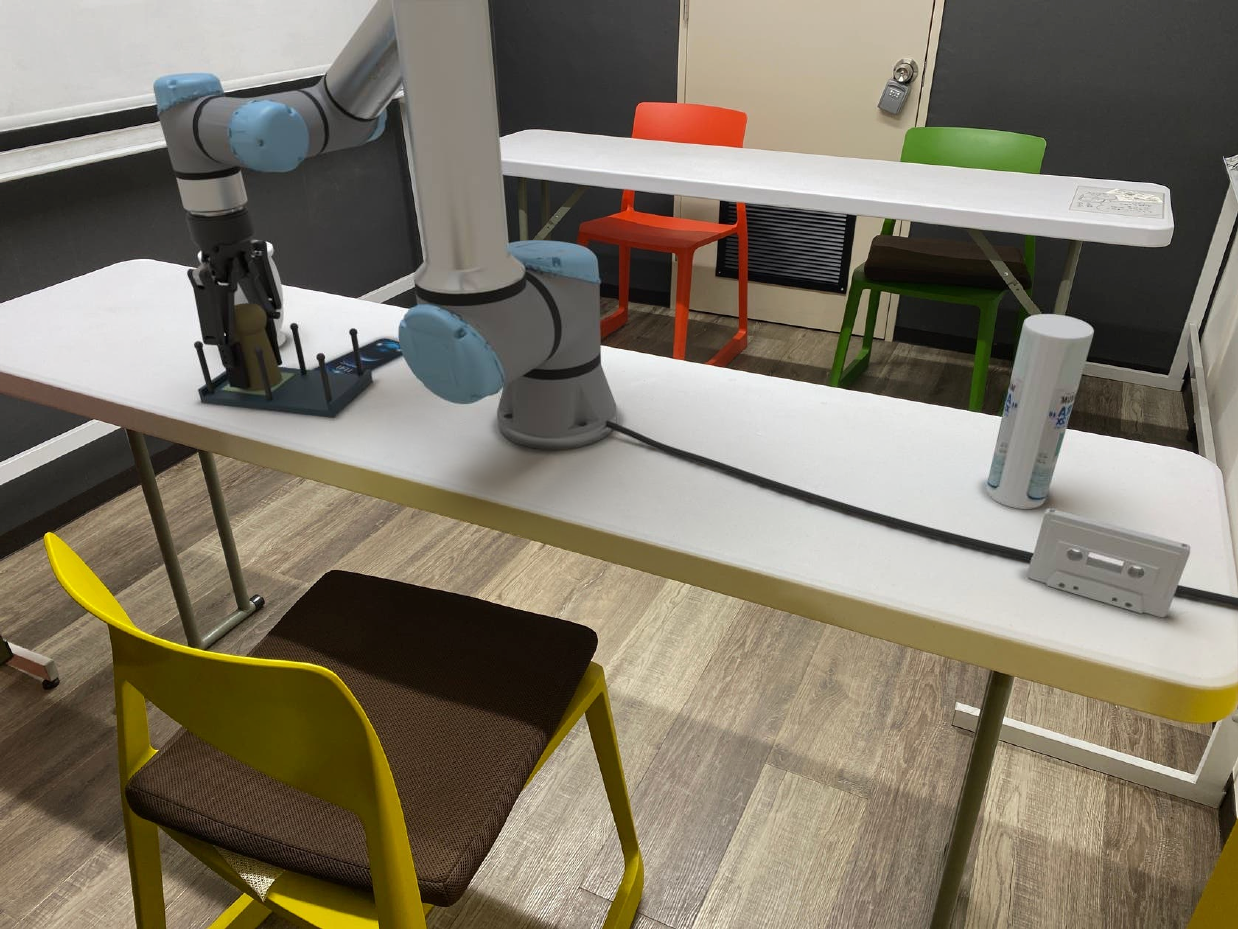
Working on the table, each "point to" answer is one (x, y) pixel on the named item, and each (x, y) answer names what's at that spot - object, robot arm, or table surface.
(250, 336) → the cork
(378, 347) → the smartphone
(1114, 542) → the cassette
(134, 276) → the table surface
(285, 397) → the drying rack
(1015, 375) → the spray can
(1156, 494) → the table surface
